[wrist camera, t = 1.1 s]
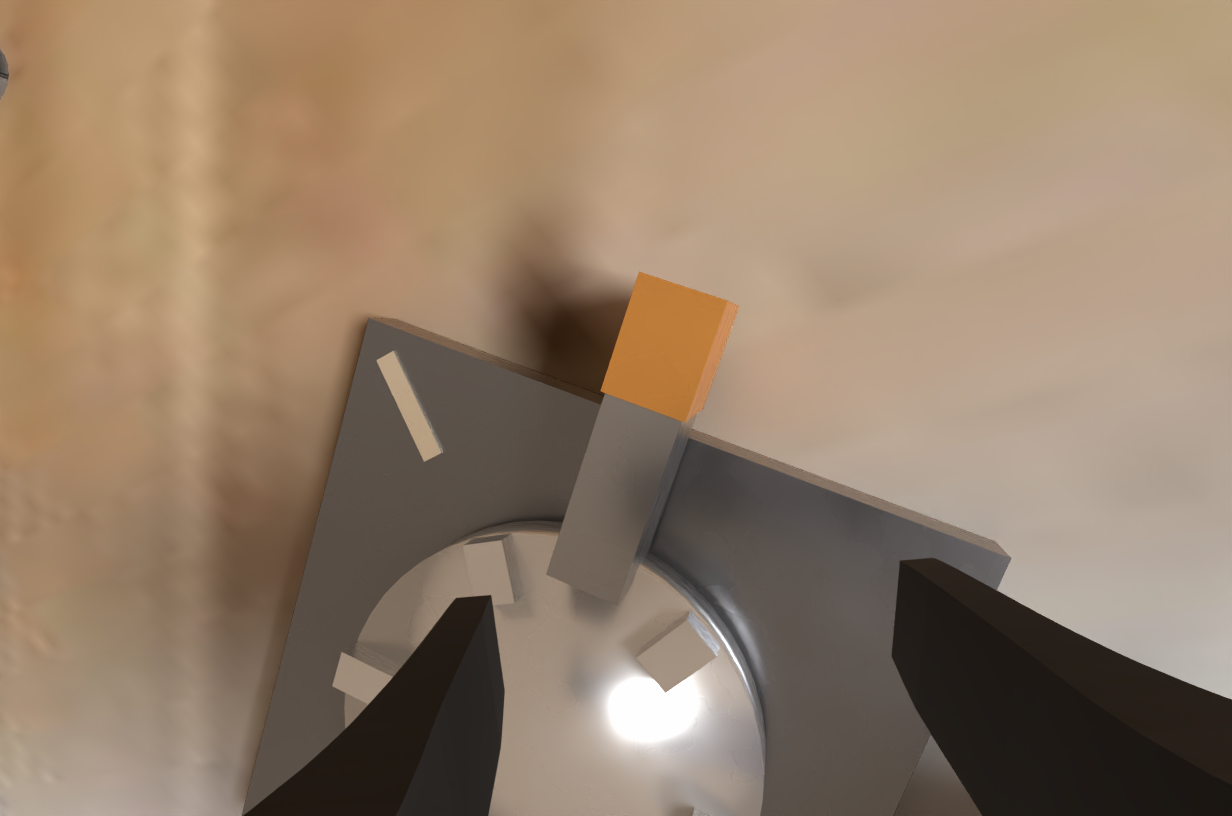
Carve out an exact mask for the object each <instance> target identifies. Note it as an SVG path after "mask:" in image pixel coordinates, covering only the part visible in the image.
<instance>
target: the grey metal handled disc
mask: <svg viewBox="0 0 1232 816" xmlns="http://www.w3.org/2000/svg"><path fill="white" fill-rule="evenodd" d="M738 309H739V306H738V305H736V304H734V303H732V302H729V301H727V300H724V299H721V298H718V297H715V296H711V295H708V294H705V293H702V292H699V291H696V290H693V289H690V288H687V287H684V286H681V285H678V284H675V283H672V282H669V281H666V280H663V279H660V278H657V277H653V276H650V275H647V274H644V273H641V272H639V274H638V277H637V280H636V283H635V286H634V289H633V292H632V295H631V298H630V302H629V305H628V308H627V311H626V314H625V317H624V320H623V323H622V326H621V329H620V332H619V335H618V339H617V342H616V345H615V348H614V351H613V354H612V357H611V360H610V363H609V366H608V369H607V372H606V376H605V379H604V382H603V385H602V388H601V392H604V393H605V395H604V398H603V401H602V404H601V407H600V410H599V413H598V416H597V419H596V422H595V425H594V428H593V431H592V435H591V438H590V441H589V444H588V447H587V450H586V453H585V456H584V459H583V462H582V465H581V468H580V471H579V474H578V477H577V481H576V484H575V487H574V490H573V493H572V496H571V499H570V502H569V505H568V508H567V511H566V514H565V517H564V520H563V522H553V521H525V522H512V523H508V524H503V525H498V526H493V527H489V528H486V529H483V530H481V531H478V532H475V533H473V534H470V535H467V536H465V537H463V538H461V539H459V540H458V541H456V542H454V543H452V544H450V545H449V546H447V547H445V548H443V549H442V550H440V551H438V552H437V553H435V554H433V555H432V556H430V557H428V558H427V559H425V560H423V561H422V562H420V563H419V564H418V565H416V566H415V567H414V568H412V569H411V570H410V571H409V572H407V573H406V574H405V575H403V576H402V577H401V578H400V579H399V580H398V581H397V582H396V583H395V584H394V585H393V586H392V587H391V588H390V589H389V590H388V591H387V592H386V593H385V594H384V596H383V597H382V599H381V600H380V601H379V603H378V604H377V606H376V607H375V608H374V610H373V611H372V613H371V614H370V616H369V618H368V620H367V622H366V624H365V625H364V627H363V629H362V631H361V633H360V635H359V638H358V641H357V642H355V643H354V644H352V645H351V646H349V647H348V648H346V649H345V650H343V651H342V652H341V656H340V660H339V663H338V667H337V671H336V674H335V678H334V682H333V685H332V686H333V687H335V688H337V689H339V690H341V691H343V692H345V705H344V712H345V729H346V728H347V727H348V726H349V725H350V724H351V723H352V722H353V720H354V719H355V718H356V717H357V716H358V715H359V714H360V713H361V712H362V711H363V710H364V709H365V708H366V706H367V705H368V704H369V703H370V702H371V701H372V700H373V699H374V698H375V697H376V696H377V694H378V693H379V692H380V691H381V690H382V689H383V688H384V687H385V686H386V685H387V683H388V682H389V681H390V680H391V679H392V678H393V676H394V675H395V674H396V673H397V672H398V670H399V669H400V668H401V667H402V665H403V664H404V663H405V662H406V661H407V659H408V658H409V657H410V656H411V655H412V653H413V652H414V651H415V650H416V648H417V647H418V646H419V645H420V643H421V642H422V641H423V639H424V638H425V637H426V636H427V634H428V633H429V632H430V630H431V629H432V628H433V626H434V625H435V624H436V622H437V621H438V620H439V618H440V617H441V616H442V615H443V613H444V612H445V611H446V609H447V608H448V607H449V605H450V604H451V603H452V602H453V601H454V600H455V599H456V598H460V597H472V596H484V595H491V596H492V603H493V610H494V618H495V625H496V632H497V639H498V646H499V653H500V660H501V667H502V674H503V681H504V688H505V695H504V711H503V726H502V740H501V749H500V755H499V761H498V766H497V772H496V777H495V783H494V788H493V794H492V799H491V804H490V810H489V815H488V816H760V813H761V807H762V801H763V789H764V776H765V752H766V738H765V729H764V721H763V713H762V708H761V705H760V701H759V697H758V693H757V689H756V685H755V682H754V680H753V677H752V675H751V672H750V670H749V667H748V665H747V662H746V660H745V657H744V655H743V654H742V652H741V650H740V648H739V646H738V645H737V643H736V641H735V639H734V637H733V636H732V634H731V632H730V630H729V629H728V628H727V626H726V625H725V624H724V622H723V621H722V619H721V618H720V617H719V615H718V614H717V613H716V611H715V610H714V608H713V607H712V606H711V605H710V604H709V603H708V602H707V601H706V599H705V598H704V597H703V596H702V595H701V594H700V593H699V592H698V591H697V590H696V589H695V588H694V587H693V586H692V585H691V584H690V583H689V582H688V581H687V580H686V579H684V578H683V577H682V576H681V575H680V574H678V573H677V572H676V571H675V570H674V569H672V568H671V567H670V566H669V565H667V564H666V563H664V562H663V561H661V560H660V559H658V558H657V557H655V556H653V555H652V554H650V553H649V552H648V551H649V548H650V546H651V543H652V540H653V537H654V534H655V531H656V529H657V526H658V523H659V520H660V517H661V514H662V512H663V509H664V506H665V503H666V500H667V497H668V495H669V492H670V489H671V486H672V483H673V480H674V478H675V475H676V472H677V469H678V466H679V463H680V461H681V458H682V455H683V452H684V449H685V446H686V444H687V441H688V438H689V435H690V432H691V430H692V427H693V424H694V421H695V418H696V415H697V413H698V412H699V411H701V410H702V409H703V407H704V404H705V402H706V399H707V396H708V393H709V390H710V388H711V385H712V382H713V379H714V376H715V373H716V371H717V368H718V365H719V362H720V359H721V356H722V354H723V351H724V348H725V345H726V342H727V340H728V337H729V334H730V331H731V328H732V325H733V323H734V320H735V317H736V314H737V311H738Z"/></svg>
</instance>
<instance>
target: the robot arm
mask: <svg viewBox="0 0 1232 816" xmlns="http://www.w3.org/2000/svg"><path fill="white" fill-rule="evenodd" d="M891 656H892V659H893V661H894V663H895V665H896V668H897V670H898V672H899V674H900V677H901V679H902V681H903V683H904V686H905V688H906V690H907V692H908V694H909V696H910V698H911V700H912V702H913V704H914V707H915V709H916V710H917V712H918V714H919V715H920V717H921V719H922V720H923V722H924V724H925V725H926V727H927V728H928V730H929V732H930V733H931V735H932V736H933V738H934V740H935V741H936V743H937V744H938V746H939V748H940V749H941V751H942V752H943V754H944V756H945V757H946V759H947V760H948V762H949V763H950V765H951V767H952V768H953V770H954V771H955V773H956V775H957V776H958V778H959V779H960V781H961V782H962V784H963V786H964V787H965V789H966V790H967V792H968V793H969V795H970V797H971V798H972V800H973V801H974V803H975V805H976V806H977V808H978V809H979V811H980V812H981V814H982V816H1232V700H1231V699H1229V698H1226V697H1223V696H1220V695H1218V694H1215V693H1212V692H1210V691H1207V690H1204V689H1202V688H1199V687H1197V686H1194V685H1191V684H1189V683H1187V682H1184V681H1182V680H1179V679H1177V678H1175V677H1172V676H1170V675H1167V674H1165V673H1163V672H1160V671H1158V670H1155V669H1153V668H1150V667H1148V666H1146V665H1143V664H1141V663H1139V662H1136V661H1134V660H1132V659H1130V658H1128V657H1125V656H1123V655H1121V654H1119V653H1117V652H1114V651H1112V650H1110V649H1108V648H1106V647H1104V646H1102V645H1100V644H1098V643H1096V642H1094V641H1092V640H1090V639H1088V638H1086V637H1084V636H1081V635H1079V634H1077V633H1075V632H1073V631H1071V630H1070V629H1068V628H1066V627H1064V626H1062V625H1060V624H1058V623H1056V622H1054V621H1052V620H1050V619H1048V618H1046V617H1044V616H1043V615H1041V614H1039V613H1037V612H1035V611H1033V610H1031V609H1030V608H1028V607H1026V606H1024V605H1022V604H1020V603H1018V602H1017V601H1015V600H1013V599H1011V598H1009V597H1008V596H1006V595H1004V594H1002V593H1000V592H999V591H997V590H995V589H993V588H991V587H989V586H988V585H986V584H984V583H982V582H980V581H979V580H977V579H975V578H973V577H971V576H969V575H968V574H966V573H964V572H962V571H960V570H958V569H956V568H954V567H952V566H951V565H948V564H946V563H944V562H942V561H940V560H938V559H936V558H924V559H912V560H900V564H899V576H898V587H897V598H896V610H895V621H894V633H893V644H892V655H891ZM504 695H505V688H504V681H503V674H502V667H501V660H500V653H499V646H498V639H497V632H496V625H495V618H494V610H493V603H492V596H491V595H484V596H472V597H460V598H456V599H455V600H454V601H453V602H452V603H451V604H450V605H449V607H448V608H447V609H446V611H445V612H444V613H443V615H442V616H441V617H440V618H439V620H438V621H437V622H436V624H435V625H434V626H433V628H432V629H431V630H430V632H429V633H428V634H427V636H426V637H425V638H424V639H423V641H422V642H421V643H420V645H419V646H418V647H417V648H416V650H415V651H414V652H413V653H412V655H411V656H410V657H409V658H408V659H407V661H406V662H405V663H404V664H403V665H402V667H401V668H400V669H399V670H398V672H397V673H396V674H395V675H394V676H393V678H392V679H391V680H390V681H389V682H388V683H387V685H386V686H385V687H384V688H383V689H382V690H381V691H380V692H379V693H378V694H377V696H376V697H375V698H374V699H373V700H372V701H371V702H370V703H369V704H368V705H367V706H366V708H365V709H364V710H363V711H362V712H361V713H360V714H359V715H358V716H357V717H356V718H355V719H354V720H353V722H352V723H351V724H350V725H349V726H348V727H347V728H346V729H345V730H344V731H343V732H342V733H341V734H340V735H339V736H338V737H336V738H335V739H334V740H333V741H332V742H331V743H330V744H329V745H328V746H327V747H326V748H324V749H323V750H322V751H321V752H320V753H319V754H318V755H317V756H316V757H315V758H314V759H312V760H311V761H310V762H309V763H308V764H307V765H306V766H304V767H303V768H302V769H301V770H300V771H298V772H297V773H296V774H295V775H293V776H292V777H291V778H290V779H288V780H287V781H286V782H285V783H283V784H282V785H281V786H280V787H278V788H277V789H276V790H275V791H273V792H272V793H271V794H270V795H268V796H267V797H266V798H265V799H263V800H262V801H261V802H260V803H258V804H257V805H256V806H255V807H254V808H252V809H251V810H250V811H248V812H247V813H246V814H244V815H243V816H488V815H489V810H490V804H491V799H492V794H493V788H494V783H495V777H496V772H497V766H498V761H499V755H500V749H501V740H502V726H503V711H504Z"/></svg>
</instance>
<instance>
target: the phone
mask: <svg viewBox="0 0 1232 816" xmlns="http://www.w3.org/2000/svg"><path fill="white" fill-rule="evenodd" d="M8 76H9V74H8V64H7V61H6V58H5V56H4V54H3V53H2V51H1V50H0V99H1V97H2V95H3V94H4V91H5V89H6V86H7V83H8Z"/></svg>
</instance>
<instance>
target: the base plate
mask: <svg viewBox="0 0 1232 816" xmlns="http://www.w3.org/2000/svg"><path fill="white" fill-rule="evenodd" d="M603 398H604V396H601V395H599V394H596V393H593V392H591V391H588V390H585V389H582V388H580V387H577V386H574V385H572V384H569V383H566V382H564V381H561V380H558V379H556V378H553V377H550V376H547V375H545V374H542V373H539V372H537V371H534V370H531V369H529V368H526V367H523V366H521V365H518V364H515V363H512V362H510V361H507V360H504V359H502V358H499V357H496V356H494V355H491V354H488V353H485V352H483V351H480V350H477V349H475V348H472V347H469V346H467V345H464V344H461V343H459V342H456V341H453V340H450V339H448V338H445V337H442V336H440V335H437V334H434V333H432V332H429V331H426V330H424V329H421V328H418V327H415V326H413V325H410V324H407V323H405V322H402V321H399V320H397V319H385V318H369V319H368V323H367V327H366V331H365V335H364V339H363V343H362V347H361V350H360V354H359V358H358V362H357V366H356V370H355V374H354V378H353V382H352V386H351V390H350V394H349V397H348V401H347V405H346V409H345V413H344V417H343V421H342V425H341V429H340V433H339V437H338V441H337V445H336V448H335V452H334V456H333V460H332V464H331V468H330V472H329V476H328V480H327V484H326V488H325V492H324V495H323V499H322V503H321V507H320V511H319V515H318V519H317V523H316V527H315V531H314V535H313V539H312V543H311V546H310V550H309V554H308V558H307V562H306V566H305V570H304V574H303V578H302V582H301V586H300V590H299V593H298V597H297V601H296V605H295V609H294V613H293V617H292V621H291V625H290V629H289V633H288V637H287V640H286V644H285V648H284V652H283V656H282V660H281V664H280V668H279V672H278V676H277V680H276V684H275V688H274V691H273V695H272V699H271V703H270V707H269V711H268V715H267V719H266V723H265V727H264V731H263V735H262V738H261V742H260V746H259V750H258V754H257V758H256V762H255V766H254V770H253V774H252V778H251V782H250V786H249V789H248V793H247V797H246V801H245V805H244V809H243V813H242V816H243V815H244V814H246V813H247V812H248V811H250V810H251V809H252V808H254V807H255V806H256V805H257V804H258V803H260V802H261V801H262V800H263V799H265V798H266V797H267V796H268V795H270V794H271V793H272V792H273V791H275V790H276V789H277V788H278V787H280V786H281V785H282V784H283V783H285V782H286V781H287V780H288V779H290V778H291V777H292V776H293V775H295V774H296V773H297V772H298V771H300V770H301V769H302V768H303V767H304V766H306V765H307V764H308V763H309V762H310V761H311V760H312V759H314V758H315V757H316V756H317V755H318V754H319V753H320V752H321V751H322V750H323V749H324V748H326V747H327V746H328V745H329V744H330V743H331V742H332V741H333V740H334V739H335V738H336V737H338V736H339V735H340V734H341V733H342V732H343V731H344V730H345V712H344V705H345V692H343V691H341V690H339V689H337V688H335V687H333V686H332V685H333V682H334V678H335V674H336V671H337V667H338V663H339V660H340V656H341V652H342V651H343V650H345V649H346V648H348V647H349V646H351V645H352V644H354V643H355V642H357V641H358V638H359V635H360V633H361V631H362V629H363V627H364V625H365V624H366V622H367V620H368V618H369V616H370V614H371V613H372V611H373V610H374V608H375V607H376V606H377V604H378V603H379V601H380V600H381V599H382V597H383V596H384V594H385V593H386V592H387V591H388V590H389V589H390V588H391V587H392V586H393V585H394V584H395V583H396V582H397V581H398V580H399V579H400V578H401V577H402V576H403V575H405V574H406V573H407V572H409V571H410V570H411V569H412V568H414V567H415V566H416V565H418V564H419V563H420V562H422V561H423V560H425V559H427V558H428V557H430V556H432V555H433V554H435V553H437V552H438V551H440V550H442V549H443V548H445V547H447V546H449V545H450V544H452V543H454V542H456V541H458V540H459V539H461V538H463V537H465V536H467V535H470V534H473V533H475V532H478V531H481V530H483V529H486V528H489V527H493V526H498V525H503V524H508V523H512V522H525V521H553V522H563V520H564V517H565V514H566V511H567V508H568V505H569V502H570V499H571V496H572V493H573V490H574V487H575V484H576V481H577V477H578V474H579V471H580V468H581V465H582V462H583V459H584V456H585V453H586V450H587V447H588V444H589V441H590V438H591V435H592V431H593V428H594V425H595V422H596V419H597V416H598V413H599V410H600V407H601V404H602V401H603ZM648 552H649V553H650V554H652V555H653V556H655V557H657V558H658V559H660V560H661V561H663V562H664V563H666V564H667V565H669V566H670V567H671V568H672V569H674V570H675V571H676V572H677V573H678V574H680V575H681V576H682V577H683V578H684V579H686V580H687V581H688V582H689V583H690V584H691V585H692V586H693V587H694V588H695V589H696V590H697V591H698V592H699V593H700V594H701V595H702V596H703V597H704V598H705V599H706V601H707V602H708V603H709V604H710V605H711V606H712V607H713V608H714V610H715V611H716V613H717V614H718V615H719V617H720V618H721V619H722V621H723V622H724V624H725V625H726V626H727V628H728V629H729V630H730V632H731V634H732V636H733V637H734V639H735V641H736V643H737V645H738V646H739V648H740V650H741V652H742V654H743V655H744V657H745V660H746V662H747V665H748V667H749V670H750V672H751V675H752V677H753V680H754V682H755V685H756V689H757V693H758V697H759V701H760V705H761V708H762V713H763V721H764V729H765V738H766V752H765V776H764V789H763V801H762V807H761V813H760V816H893V815H894V813H895V811H896V808H897V806H898V804H899V802H900V800H901V797H902V795H903V793H904V791H905V789H906V787H907V784H908V782H909V780H910V778H911V776H912V774H913V771H914V769H915V767H916V765H917V763H918V760H919V758H920V756H921V754H922V752H923V750H924V747H925V745H926V743H927V741H928V739H929V737H930V734H931V733H930V732H929V730H928V728H927V727H926V725H925V724H924V722H923V720H922V719H921V717H920V715H919V714H918V712H917V710H916V709H915V707H914V704H913V702H912V700H911V698H910V696H909V694H908V692H907V690H906V688H905V686H904V683H903V681H902V679H901V677H900V674H899V672H898V670H897V668H896V665H895V663H894V661H893V659H892V656H891V655H892V644H893V633H894V621H895V610H896V598H897V587H898V576H899V564H900V560H912V559H924V558H936V559H938V560H940V561H942V562H944V563H946V564H948V565H951V566H952V567H954V568H956V569H958V570H960V571H962V572H964V573H966V574H968V575H969V576H971V577H973V578H975V579H977V580H979V581H980V582H982V583H984V584H986V585H988V586H989V587H991V588H993V589H995V590H997V588H998V586H999V584H1000V582H1001V580H1002V578H1003V575H1004V573H1005V571H1006V569H1007V567H1008V565H1009V562H1010V560H1011V557H1010V556H1009V555H1008V554H1007V553H1006V552H1005V551H1004V550H1003V549H1002V548H1001V547H1000V546H999V545H998V544H997V543H996V542H995V541H992V540H989V539H987V538H984V537H981V536H979V535H976V534H973V533H970V532H968V531H965V530H962V529H960V528H957V527H954V526H952V525H949V524H946V523H944V522H941V521H938V520H935V519H933V518H930V517H927V516H925V515H922V514H919V513H917V512H914V511H911V510H909V509H906V508H903V507H900V506H898V505H895V504H892V503H890V502H887V501H884V500H882V499H879V498H876V497H873V496H871V495H868V494H865V493H863V492H860V491H857V490H855V489H852V488H849V487H847V486H844V485H841V484H838V483H836V482H833V481H830V480H828V479H825V478H822V477H820V476H817V475H814V474H812V473H809V472H806V471H803V470H801V469H798V468H795V467H793V466H790V465H787V464H785V463H782V462H779V461H776V460H774V459H771V458H768V457H766V456H763V455H760V454H758V453H755V452H752V451H750V450H747V449H744V448H741V447H739V446H736V445H733V444H731V443H728V442H725V441H723V440H720V439H717V438H715V437H712V436H709V435H706V434H704V433H701V432H698V431H696V430H693V429H692V430H691V432H690V435H689V438H688V441H687V444H686V446H685V449H684V452H683V455H682V458H681V461H680V463H679V466H678V469H677V472H676V475H675V478H674V480H673V483H672V486H671V489H670V492H669V495H668V497H667V500H666V503H665V506H664V509H663V512H662V514H661V517H660V520H659V523H658V526H657V529H656V531H655V534H654V537H653V540H652V543H651V546H650V548H649V551H648Z"/></svg>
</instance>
